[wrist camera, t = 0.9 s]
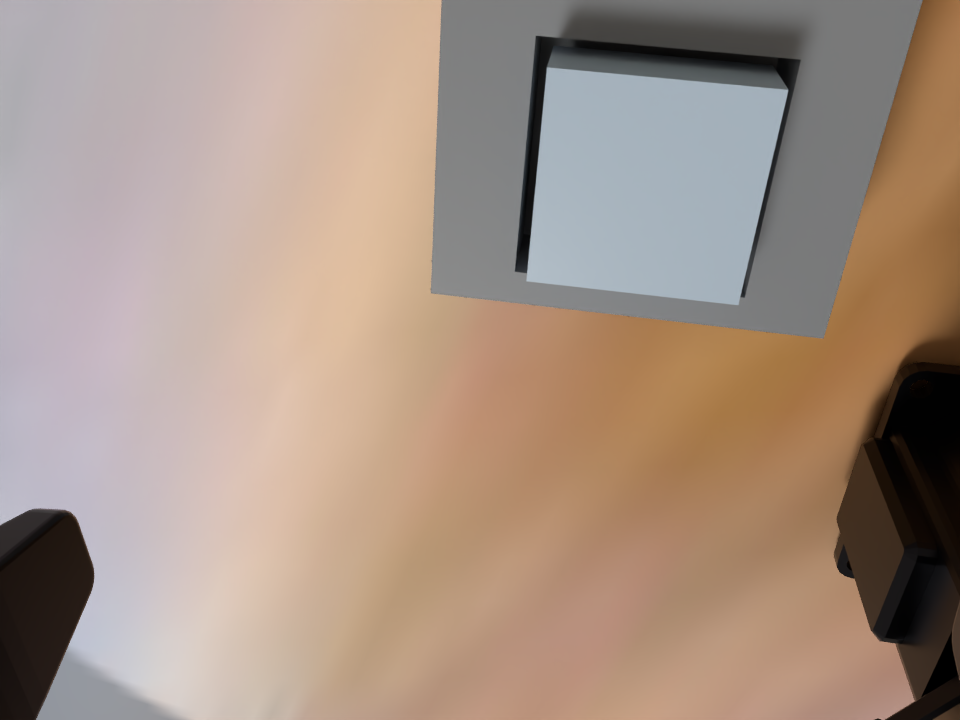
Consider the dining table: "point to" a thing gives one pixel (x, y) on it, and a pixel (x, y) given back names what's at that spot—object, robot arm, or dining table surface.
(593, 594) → the dining table surface
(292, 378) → the dining table surface
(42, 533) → the robot arm
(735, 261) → the slate blue button
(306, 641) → the dining table surface
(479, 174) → the button panel
